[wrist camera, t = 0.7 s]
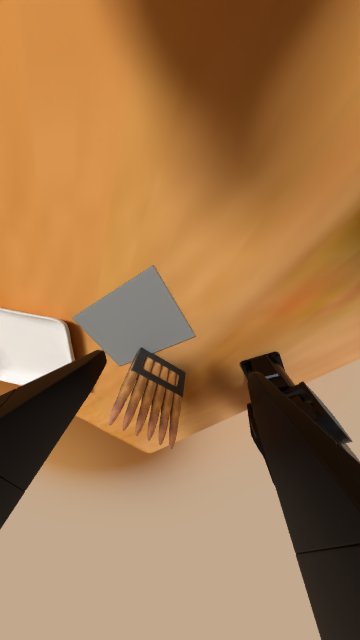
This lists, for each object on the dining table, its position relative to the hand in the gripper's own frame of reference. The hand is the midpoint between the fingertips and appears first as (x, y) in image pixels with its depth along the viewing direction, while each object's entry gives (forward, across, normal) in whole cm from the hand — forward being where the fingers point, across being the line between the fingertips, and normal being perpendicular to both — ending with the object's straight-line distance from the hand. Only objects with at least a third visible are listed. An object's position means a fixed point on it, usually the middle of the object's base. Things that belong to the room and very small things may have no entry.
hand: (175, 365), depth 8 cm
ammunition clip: (+14, +4, +14) cm, 20 cm away
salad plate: (+14, +32, +14) cm, 37 cm away
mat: (+14, +9, +6) cm, 18 cm away
